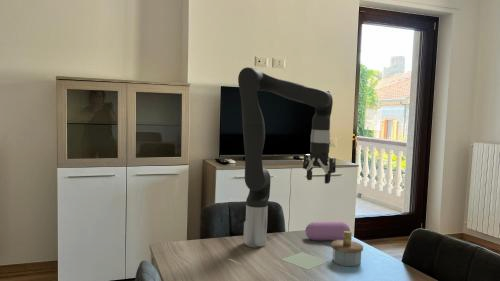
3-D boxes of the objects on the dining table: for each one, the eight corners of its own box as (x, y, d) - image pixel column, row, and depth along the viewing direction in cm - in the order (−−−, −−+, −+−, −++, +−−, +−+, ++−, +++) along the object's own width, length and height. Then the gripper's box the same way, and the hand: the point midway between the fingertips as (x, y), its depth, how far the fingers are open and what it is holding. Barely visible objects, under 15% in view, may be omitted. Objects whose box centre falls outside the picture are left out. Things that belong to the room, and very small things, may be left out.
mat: (280, 260, 158) (280, 259, 158) (301, 253, 167) (302, 252, 167) (307, 270, 149) (307, 269, 148) (328, 262, 158) (328, 261, 157)
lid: (324, 246, 158) (325, 231, 157) (342, 240, 166) (343, 226, 166) (351, 255, 149) (352, 239, 149) (368, 248, 158) (369, 233, 157)
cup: (328, 261, 158) (328, 246, 158) (342, 256, 165) (343, 241, 165) (350, 269, 151) (351, 254, 151) (364, 263, 158) (365, 248, 158)
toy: (306, 244, 181) (351, 243, 181) (306, 225, 181) (351, 224, 180) (304, 238, 189) (348, 237, 189) (304, 220, 189) (347, 219, 188)
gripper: (300, 140, 164) (298, 179, 166) (329, 143, 154) (327, 185, 155) (311, 139, 170) (309, 178, 171) (340, 142, 159) (338, 183, 161)
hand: (318, 181), depth 163 cm, fingers open, 8 cm apart
